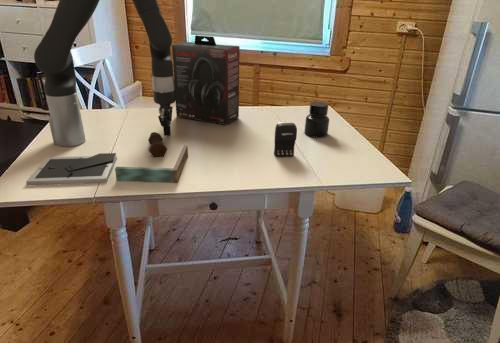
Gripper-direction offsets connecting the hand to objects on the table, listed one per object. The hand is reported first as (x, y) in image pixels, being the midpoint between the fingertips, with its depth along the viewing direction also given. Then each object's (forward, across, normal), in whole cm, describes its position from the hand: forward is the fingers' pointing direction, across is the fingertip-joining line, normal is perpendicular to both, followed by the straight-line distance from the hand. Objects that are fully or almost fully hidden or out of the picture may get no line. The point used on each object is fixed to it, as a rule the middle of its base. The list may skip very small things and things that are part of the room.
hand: (167, 135), depth 133 cm
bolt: (+1, +11, -1) cm, 11 cm away
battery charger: (+1, +14, +42) cm, 44 cm away
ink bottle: (+1, -8, +56) cm, 57 cm away
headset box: (+1, -24, +12) cm, 27 cm away
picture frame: (+2, +30, -21) cm, 36 cm away
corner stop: (+1, +26, +2) cm, 26 cm away
